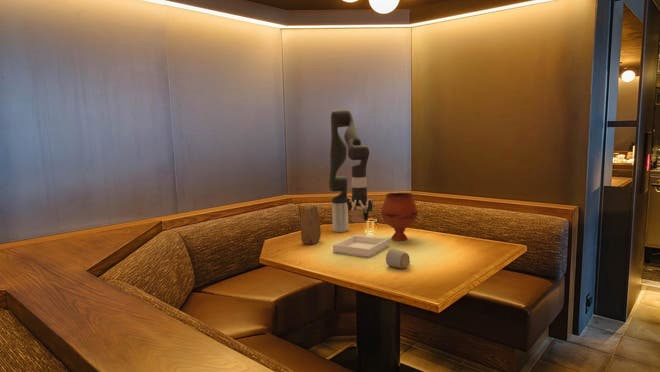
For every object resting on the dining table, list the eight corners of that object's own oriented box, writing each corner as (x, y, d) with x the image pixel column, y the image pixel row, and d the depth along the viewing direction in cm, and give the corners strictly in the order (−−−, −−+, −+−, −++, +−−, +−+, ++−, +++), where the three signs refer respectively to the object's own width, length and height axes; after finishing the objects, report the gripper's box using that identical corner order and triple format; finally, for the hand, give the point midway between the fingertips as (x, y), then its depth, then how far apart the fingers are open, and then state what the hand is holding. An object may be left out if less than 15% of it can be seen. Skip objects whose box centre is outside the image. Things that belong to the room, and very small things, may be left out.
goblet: (422, 236, 235) (422, 192, 232) (409, 245, 219) (409, 197, 216) (390, 233, 245) (390, 190, 242) (376, 241, 229) (375, 195, 226)
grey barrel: (401, 271, 179) (401, 253, 178) (385, 267, 184) (385, 250, 183) (414, 265, 187) (414, 248, 186) (398, 262, 192) (398, 245, 191)
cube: (357, 219, 216) (357, 207, 215) (368, 220, 213) (367, 208, 212) (351, 221, 211) (351, 209, 210) (362, 222, 208) (362, 210, 207)
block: (311, 245, 224) (309, 208, 222) (299, 243, 229) (298, 207, 226) (323, 241, 233) (321, 205, 231) (312, 239, 237) (310, 204, 235)
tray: (354, 242, 228) (354, 235, 228) (388, 246, 218) (388, 238, 217) (332, 252, 210) (332, 244, 209) (369, 257, 199) (369, 249, 199)
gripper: (375, 185, 209) (376, 219, 211) (350, 184, 217) (351, 216, 219) (368, 187, 203) (369, 222, 205) (342, 186, 210) (343, 219, 212)
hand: (360, 219), depth 212 cm, fingers closed on cube, 6 cm apart
